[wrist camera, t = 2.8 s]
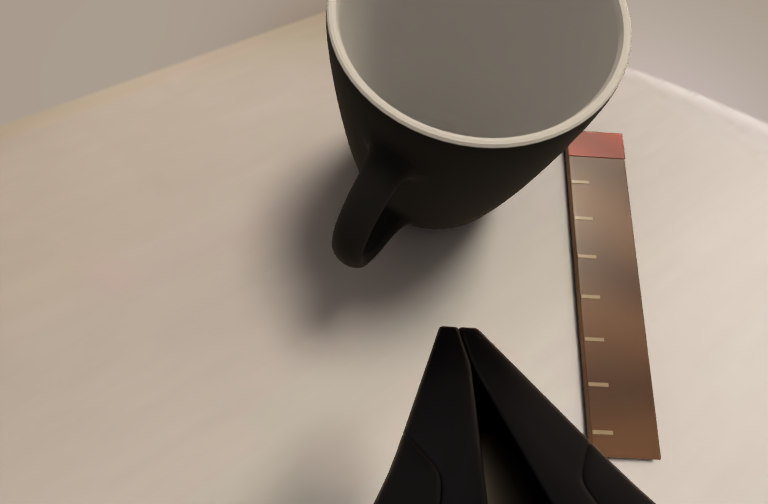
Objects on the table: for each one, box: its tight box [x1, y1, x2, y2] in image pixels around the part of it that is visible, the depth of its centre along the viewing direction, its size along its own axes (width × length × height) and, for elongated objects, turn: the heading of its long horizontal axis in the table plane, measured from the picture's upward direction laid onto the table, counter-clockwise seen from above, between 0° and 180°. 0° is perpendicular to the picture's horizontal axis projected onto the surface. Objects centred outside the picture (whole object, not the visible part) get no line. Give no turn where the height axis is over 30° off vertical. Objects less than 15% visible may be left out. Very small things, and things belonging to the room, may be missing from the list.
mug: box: [326, 0, 632, 268], centre depth 16 cm, size 12×9×10 cm
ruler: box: [565, 131, 661, 460], centre depth 20 cm, size 16×3×1 cm, turn 177°
